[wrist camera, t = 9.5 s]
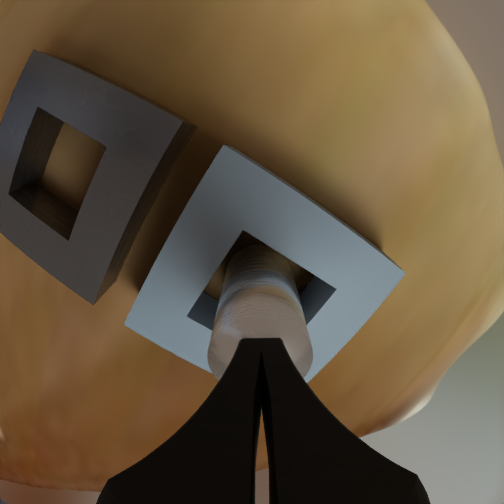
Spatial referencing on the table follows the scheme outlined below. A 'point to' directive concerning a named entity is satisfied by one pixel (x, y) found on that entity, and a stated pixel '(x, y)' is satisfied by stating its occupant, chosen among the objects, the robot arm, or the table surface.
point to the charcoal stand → (103, 182)
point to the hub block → (277, 237)
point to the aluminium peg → (259, 309)
